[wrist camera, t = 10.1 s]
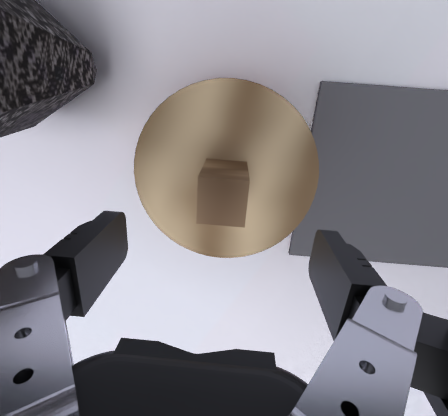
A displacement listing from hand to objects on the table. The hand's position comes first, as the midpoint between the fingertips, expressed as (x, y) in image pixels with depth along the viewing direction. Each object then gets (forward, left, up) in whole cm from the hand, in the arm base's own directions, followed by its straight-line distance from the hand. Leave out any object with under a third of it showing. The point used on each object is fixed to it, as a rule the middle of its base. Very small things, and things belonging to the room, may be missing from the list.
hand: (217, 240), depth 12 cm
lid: (0, 0, -9) cm, 9 cm away
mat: (-15, +1, -14) cm, 21 cm away
